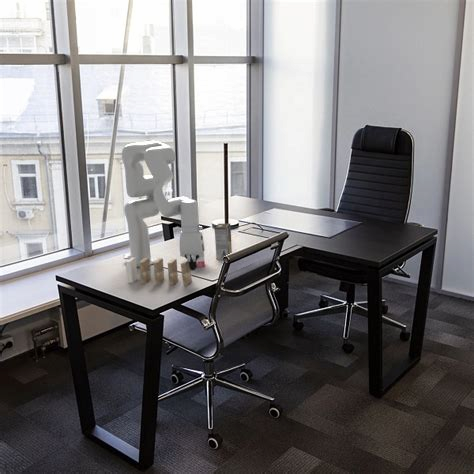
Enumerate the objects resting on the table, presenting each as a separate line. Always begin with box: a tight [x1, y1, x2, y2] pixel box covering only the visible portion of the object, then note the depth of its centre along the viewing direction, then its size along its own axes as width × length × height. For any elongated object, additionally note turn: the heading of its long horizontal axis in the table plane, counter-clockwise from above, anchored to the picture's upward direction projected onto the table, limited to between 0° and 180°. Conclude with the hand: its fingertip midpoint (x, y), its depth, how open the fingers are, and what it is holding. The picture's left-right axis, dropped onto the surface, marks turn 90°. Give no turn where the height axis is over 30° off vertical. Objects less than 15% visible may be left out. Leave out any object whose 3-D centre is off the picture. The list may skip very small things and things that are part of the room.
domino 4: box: [180, 258, 193, 286], centre depth 259 cm, size 2×6×10 cm, turn 166°
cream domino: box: [125, 257, 138, 284], centre depth 266 cm, size 2×6×10 cm, turn 166°
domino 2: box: [153, 258, 165, 285], centre depth 263 cm, size 2×6×10 cm, turn 166°
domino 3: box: [167, 258, 179, 286], centre depth 261 cm, size 2×6×10 cm, turn 166°
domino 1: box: [139, 258, 152, 284], centre depth 264 cm, size 2×6×10 cm, turn 166°
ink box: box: [192, 255, 206, 268], centre depth 282 cm, size 8×5×12 cm, turn 96°
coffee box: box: [214, 223, 233, 260], centre depth 293 cm, size 9×6×16 cm
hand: (193, 269), depth 258 cm, fingers closed
